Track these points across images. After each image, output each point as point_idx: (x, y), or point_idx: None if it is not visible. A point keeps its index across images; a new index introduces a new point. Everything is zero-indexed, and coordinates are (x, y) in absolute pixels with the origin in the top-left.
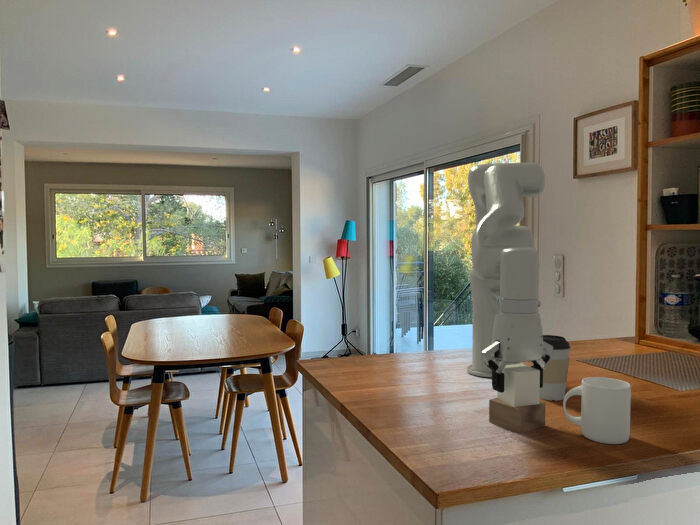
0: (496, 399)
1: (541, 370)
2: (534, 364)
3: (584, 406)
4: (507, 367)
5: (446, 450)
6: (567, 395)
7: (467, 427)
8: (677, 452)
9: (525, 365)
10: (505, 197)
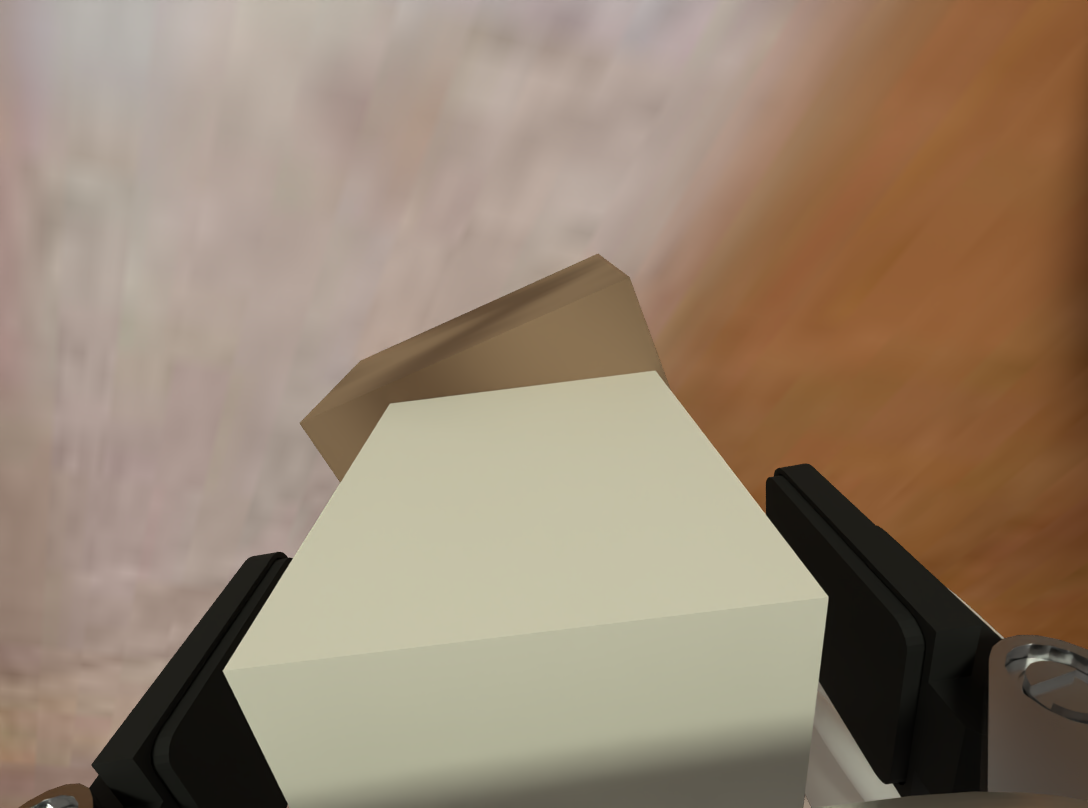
0: (371, 426)
1: (902, 788)
2: (965, 747)
3: (830, 799)
4: (378, 780)
5: (33, 670)
6: (837, 759)
7: (188, 426)
8: None
9: (798, 705)
10: None
